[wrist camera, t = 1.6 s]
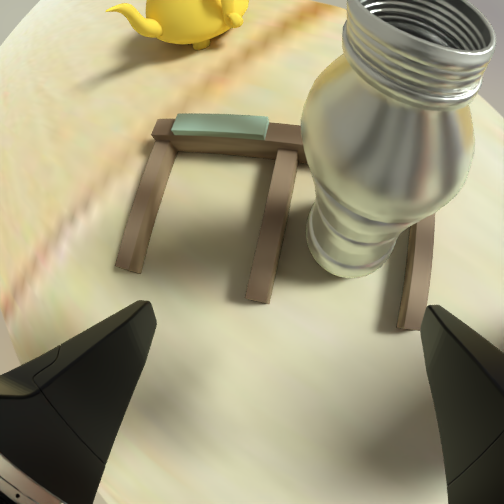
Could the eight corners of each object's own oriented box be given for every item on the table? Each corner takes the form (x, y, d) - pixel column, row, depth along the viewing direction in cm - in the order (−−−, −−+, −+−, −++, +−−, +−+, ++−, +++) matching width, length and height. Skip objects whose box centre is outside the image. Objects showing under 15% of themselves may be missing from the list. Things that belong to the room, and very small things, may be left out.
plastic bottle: (291, 259, 24) (215, 39, 5) (329, 186, 24) (336, -60, 5) (365, 297, 22) (557, 192, 3) (399, 221, 23) (531, 18, 4)
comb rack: (413, 330, 21) (431, 331, 17) (127, 270, 26) (102, 261, 23) (427, 168, 23) (441, 147, 20) (170, 135, 29) (154, 114, 25)
